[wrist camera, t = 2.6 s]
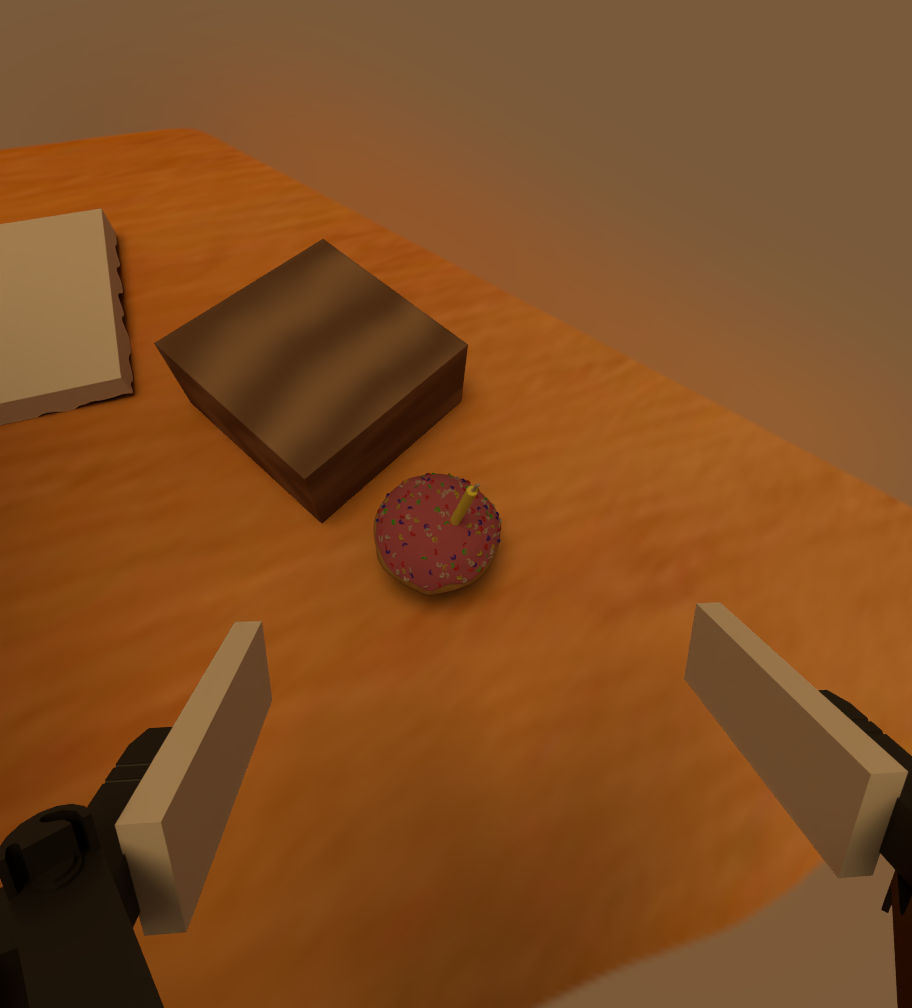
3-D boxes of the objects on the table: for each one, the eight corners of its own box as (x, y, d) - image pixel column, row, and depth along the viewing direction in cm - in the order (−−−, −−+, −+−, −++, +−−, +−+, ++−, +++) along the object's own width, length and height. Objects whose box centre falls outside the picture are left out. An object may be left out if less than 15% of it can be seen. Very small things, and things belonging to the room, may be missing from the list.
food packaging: (141, 402, 45) (119, 239, 53) (120, 377, 42) (101, 208, 50) (-58, 446, 42) (-51, 268, 50) (-95, 423, 39) (-82, 237, 47)
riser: (191, 402, 45) (154, 343, 38) (334, 304, 50) (323, 238, 44) (321, 523, 41) (304, 479, 34) (460, 401, 46) (467, 344, 40)
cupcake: (497, 513, 42) (524, 426, 31) (484, 619, 38) (511, 562, 27) (389, 496, 42) (379, 404, 31) (366, 601, 38) (346, 536, 27)
